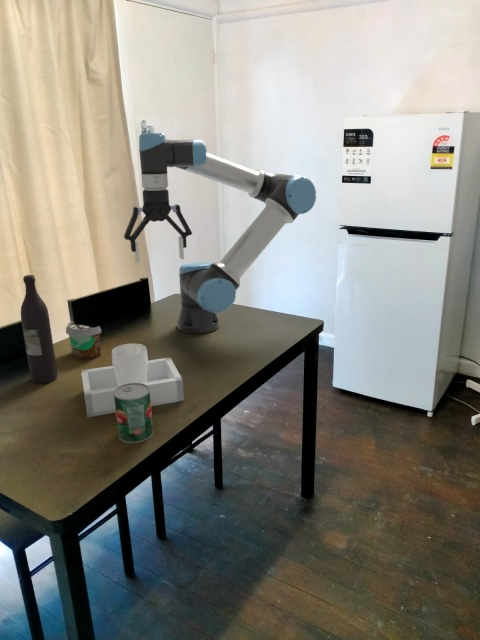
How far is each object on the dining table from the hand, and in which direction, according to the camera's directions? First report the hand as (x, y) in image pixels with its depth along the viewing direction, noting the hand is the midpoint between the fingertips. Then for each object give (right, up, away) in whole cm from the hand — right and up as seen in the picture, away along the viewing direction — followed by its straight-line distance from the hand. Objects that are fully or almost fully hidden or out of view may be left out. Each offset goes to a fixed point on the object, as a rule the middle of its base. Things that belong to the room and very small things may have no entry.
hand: (160, 260), depth 156 cm
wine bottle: (-31, -35, -12) cm, 48 cm away
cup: (-4, -37, -22) cm, 44 cm away
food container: (-25, -30, +3) cm, 39 cm away
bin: (-4, -38, -22) cm, 44 cm away
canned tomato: (+1, -44, -39) cm, 59 cm away
